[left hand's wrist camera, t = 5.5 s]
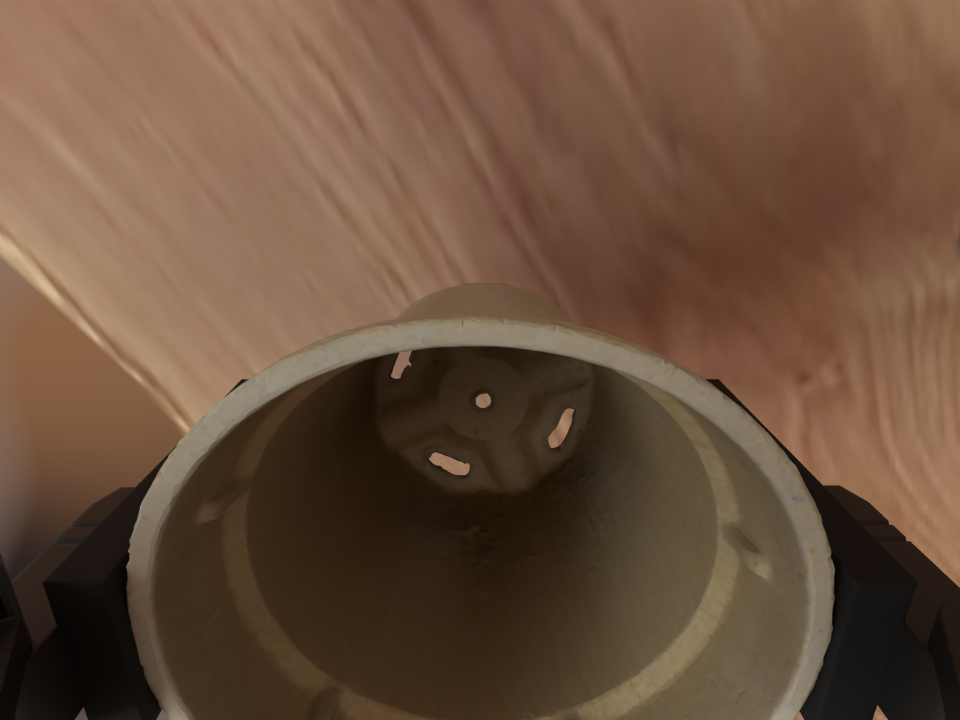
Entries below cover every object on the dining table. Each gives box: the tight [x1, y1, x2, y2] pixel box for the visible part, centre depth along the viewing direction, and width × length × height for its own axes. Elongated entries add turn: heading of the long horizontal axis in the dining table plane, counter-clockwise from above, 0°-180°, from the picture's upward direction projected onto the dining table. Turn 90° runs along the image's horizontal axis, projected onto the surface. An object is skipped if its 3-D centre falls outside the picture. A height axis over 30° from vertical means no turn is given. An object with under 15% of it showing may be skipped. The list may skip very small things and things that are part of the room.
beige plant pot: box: [126, 283, 835, 720], centre depth 12 cm, size 9×9×9 cm
